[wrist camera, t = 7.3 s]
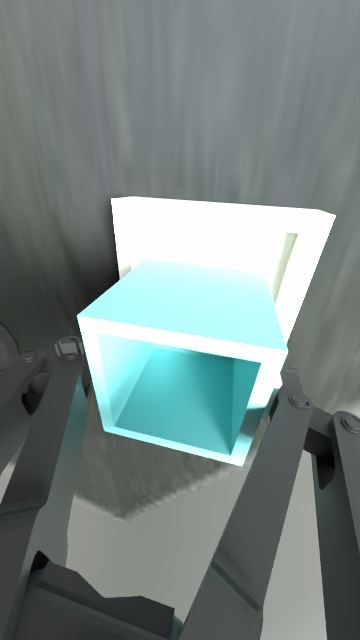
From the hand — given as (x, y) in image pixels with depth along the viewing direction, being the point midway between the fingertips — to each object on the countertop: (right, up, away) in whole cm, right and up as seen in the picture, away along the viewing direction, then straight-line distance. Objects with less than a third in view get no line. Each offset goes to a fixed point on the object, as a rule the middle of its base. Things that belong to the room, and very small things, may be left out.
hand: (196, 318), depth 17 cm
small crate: (0, 0, 0) cm, 0 cm away
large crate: (+2, +6, +10) cm, 12 cm away
